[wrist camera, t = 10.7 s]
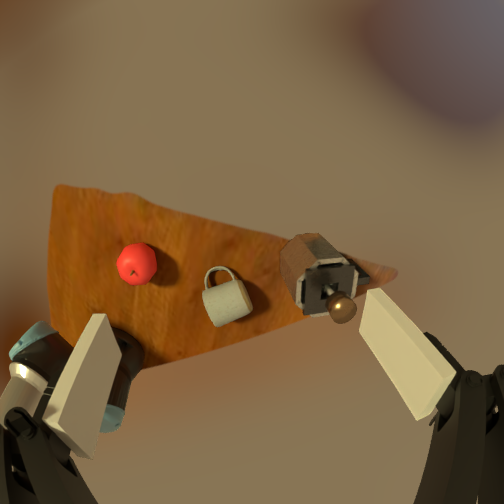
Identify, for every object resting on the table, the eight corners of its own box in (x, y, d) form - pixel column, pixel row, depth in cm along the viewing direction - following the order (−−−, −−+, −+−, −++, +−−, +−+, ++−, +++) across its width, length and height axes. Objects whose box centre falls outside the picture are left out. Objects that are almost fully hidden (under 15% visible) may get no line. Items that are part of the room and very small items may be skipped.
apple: (115, 249, 50) (101, 266, 42) (146, 230, 49) (135, 245, 42) (137, 280, 53) (127, 301, 46) (168, 263, 52) (161, 283, 45)
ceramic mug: (252, 299, 58) (257, 320, 51) (217, 312, 58) (217, 335, 51) (232, 256, 54) (234, 274, 47) (194, 272, 54) (191, 291, 47)
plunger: (290, 281, 55) (318, 336, 39) (291, 246, 52) (323, 293, 36) (325, 277, 56) (362, 328, 40) (328, 243, 53) (371, 286, 37)
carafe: (279, 285, 57) (295, 322, 45) (279, 235, 53) (298, 263, 41) (341, 278, 59) (368, 310, 47) (346, 230, 54) (378, 255, 42)
